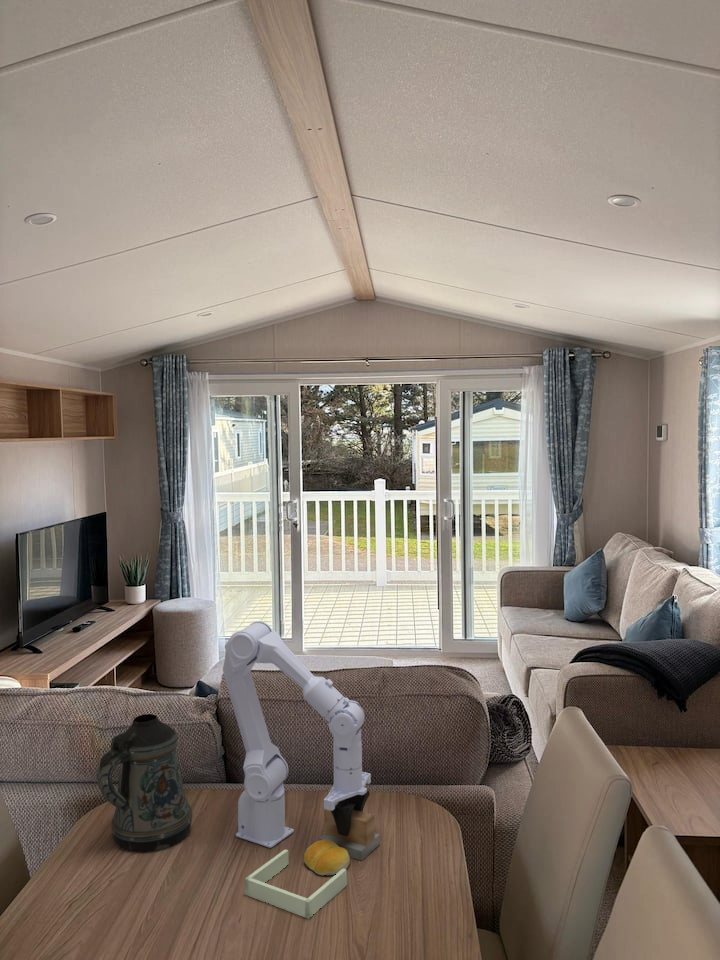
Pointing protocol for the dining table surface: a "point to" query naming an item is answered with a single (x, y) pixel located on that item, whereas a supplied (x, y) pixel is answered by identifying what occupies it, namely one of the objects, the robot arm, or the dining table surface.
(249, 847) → the dining table surface
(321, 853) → the bread roll
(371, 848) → the scraper
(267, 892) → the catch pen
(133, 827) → the beer stein
